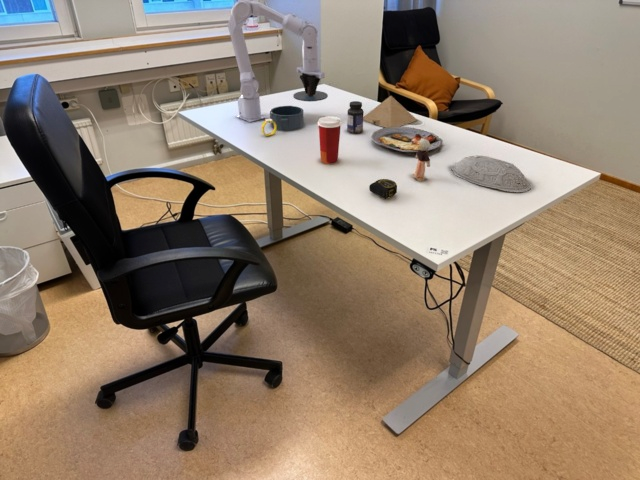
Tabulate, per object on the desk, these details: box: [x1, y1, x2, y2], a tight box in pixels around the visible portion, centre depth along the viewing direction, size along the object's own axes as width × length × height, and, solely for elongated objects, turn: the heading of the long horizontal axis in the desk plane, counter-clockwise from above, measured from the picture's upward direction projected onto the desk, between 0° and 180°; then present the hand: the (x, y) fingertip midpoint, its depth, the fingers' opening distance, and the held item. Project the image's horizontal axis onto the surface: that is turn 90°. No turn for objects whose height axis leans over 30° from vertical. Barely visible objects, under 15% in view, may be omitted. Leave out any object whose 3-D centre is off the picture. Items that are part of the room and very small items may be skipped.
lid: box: [292, 86, 329, 102], centre depth 180 cm, size 14×14×4 cm
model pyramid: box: [363, 95, 418, 128], centre depth 182 cm, size 17×17×10 cm
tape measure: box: [368, 178, 398, 200], centre depth 127 cm, size 7×7×4 cm
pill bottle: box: [346, 100, 364, 135], centre depth 170 cm, size 6×6×11 cm
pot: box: [269, 105, 305, 132], centre depth 177 cm, size 13×18×6 cm
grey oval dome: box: [450, 154, 532, 193], centre depth 137 cm, size 16×25×7 cm, turn 44°
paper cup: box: [316, 115, 342, 165], centre depth 145 cm, size 8×8×14 cm
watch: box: [260, 118, 277, 137], centre depth 168 cm, size 6×3×6 cm, turn 127°
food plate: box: [370, 126, 443, 154], centre depth 161 cm, size 25×23×4 cm
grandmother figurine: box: [411, 139, 431, 182], centre depth 134 cm, size 8×4×13 cm, turn 29°
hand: (310, 93), depth 180 cm, fingers closed on lid, 2 cm apart
